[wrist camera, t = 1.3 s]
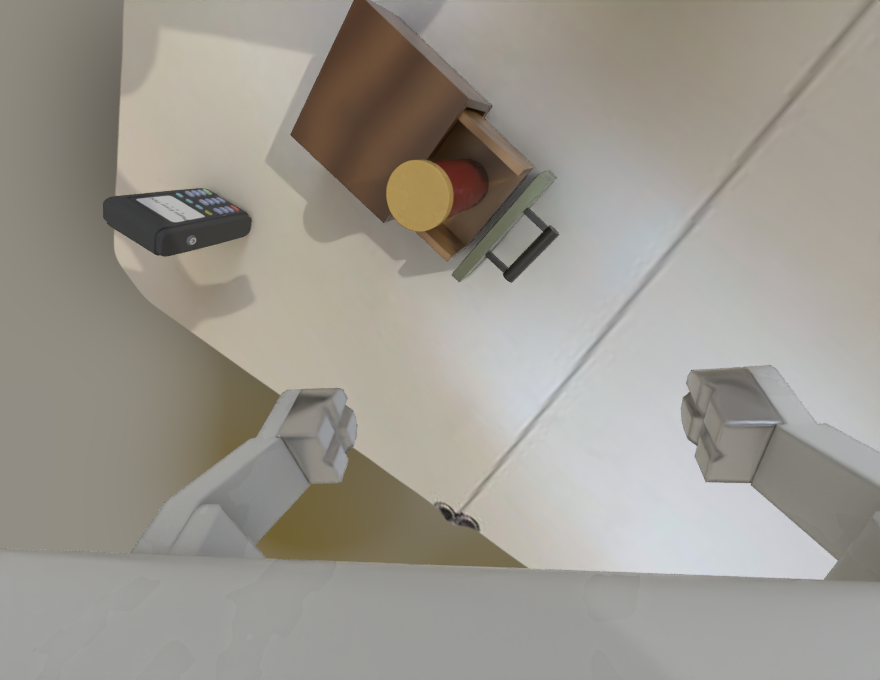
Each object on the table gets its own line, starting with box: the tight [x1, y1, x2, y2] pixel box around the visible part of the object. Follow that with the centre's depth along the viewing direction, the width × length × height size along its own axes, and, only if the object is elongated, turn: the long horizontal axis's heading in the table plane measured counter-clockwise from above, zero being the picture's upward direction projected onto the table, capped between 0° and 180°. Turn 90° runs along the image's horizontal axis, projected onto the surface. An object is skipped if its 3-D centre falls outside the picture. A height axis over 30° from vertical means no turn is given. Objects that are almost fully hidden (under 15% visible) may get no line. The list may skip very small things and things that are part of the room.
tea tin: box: [386, 159, 489, 232], centre depth 42 cm, size 6×6×14 cm
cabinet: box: [290, 0, 492, 223], centre depth 46 cm, size 14×15×9 cm
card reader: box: [103, 188, 251, 256], centre depth 57 cm, size 9×4×15 cm, turn 66°
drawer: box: [415, 107, 559, 283], centre depth 46 cm, size 17×13×7 cm
